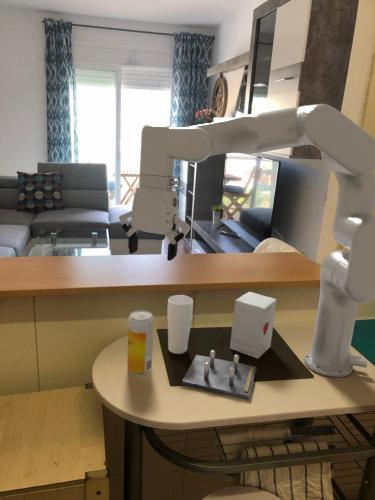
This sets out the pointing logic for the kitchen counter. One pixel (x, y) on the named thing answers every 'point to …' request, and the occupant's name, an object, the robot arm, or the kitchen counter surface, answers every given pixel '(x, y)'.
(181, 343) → the drinking glass
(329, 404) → the kitchen counter surface
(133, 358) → the beer can
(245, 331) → the supplement box
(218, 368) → the plate
